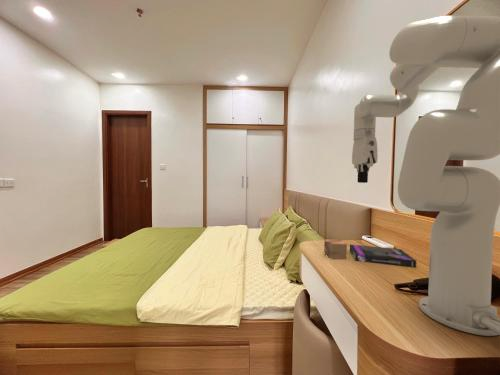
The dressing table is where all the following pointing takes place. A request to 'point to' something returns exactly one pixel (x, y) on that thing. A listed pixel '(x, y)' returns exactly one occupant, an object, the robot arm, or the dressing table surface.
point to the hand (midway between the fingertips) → (362, 182)
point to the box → (382, 256)
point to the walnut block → (335, 249)
